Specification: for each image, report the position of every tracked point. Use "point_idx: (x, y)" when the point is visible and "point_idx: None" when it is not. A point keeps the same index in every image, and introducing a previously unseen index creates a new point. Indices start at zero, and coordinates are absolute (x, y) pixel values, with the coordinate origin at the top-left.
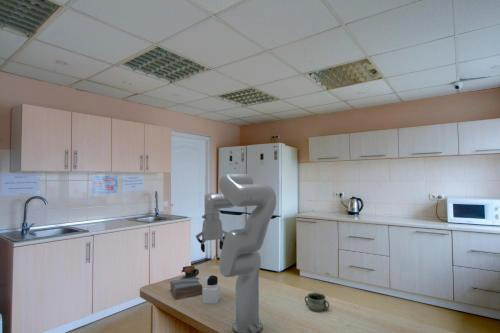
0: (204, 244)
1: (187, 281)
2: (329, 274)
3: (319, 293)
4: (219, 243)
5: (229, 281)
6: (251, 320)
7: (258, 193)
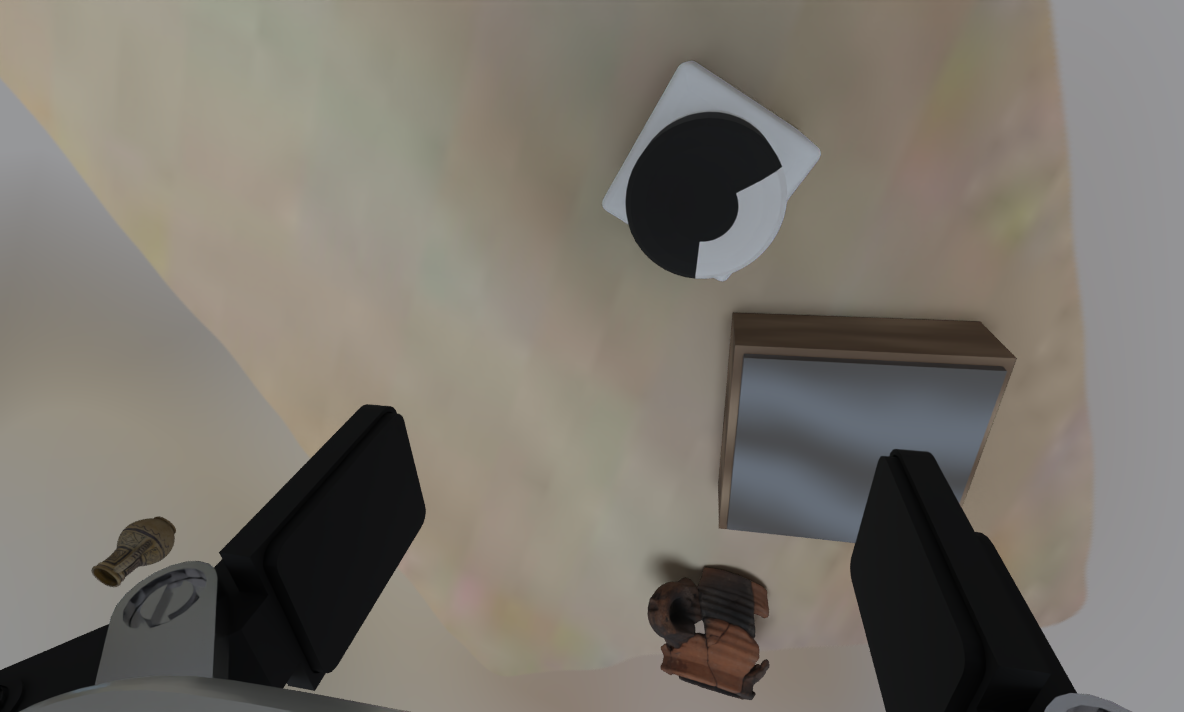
0: (973, 668)
1: (823, 478)
2: (91, 570)
3: None
4: (363, 621)
5: (464, 424)
6: None
7: None
